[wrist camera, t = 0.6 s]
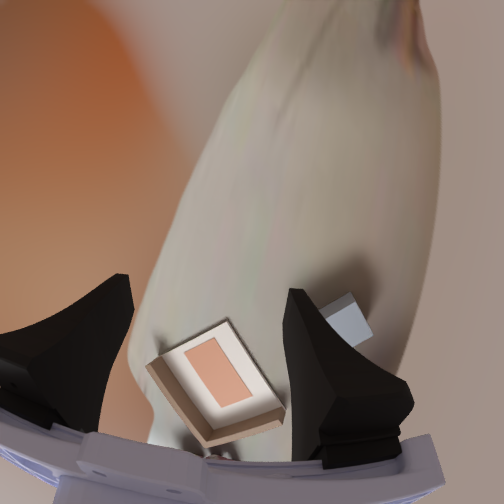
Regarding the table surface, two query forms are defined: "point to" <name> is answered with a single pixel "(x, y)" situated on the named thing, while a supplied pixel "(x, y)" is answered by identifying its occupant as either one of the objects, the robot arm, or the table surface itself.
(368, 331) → the slate block
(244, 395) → the tray
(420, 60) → the table surface
